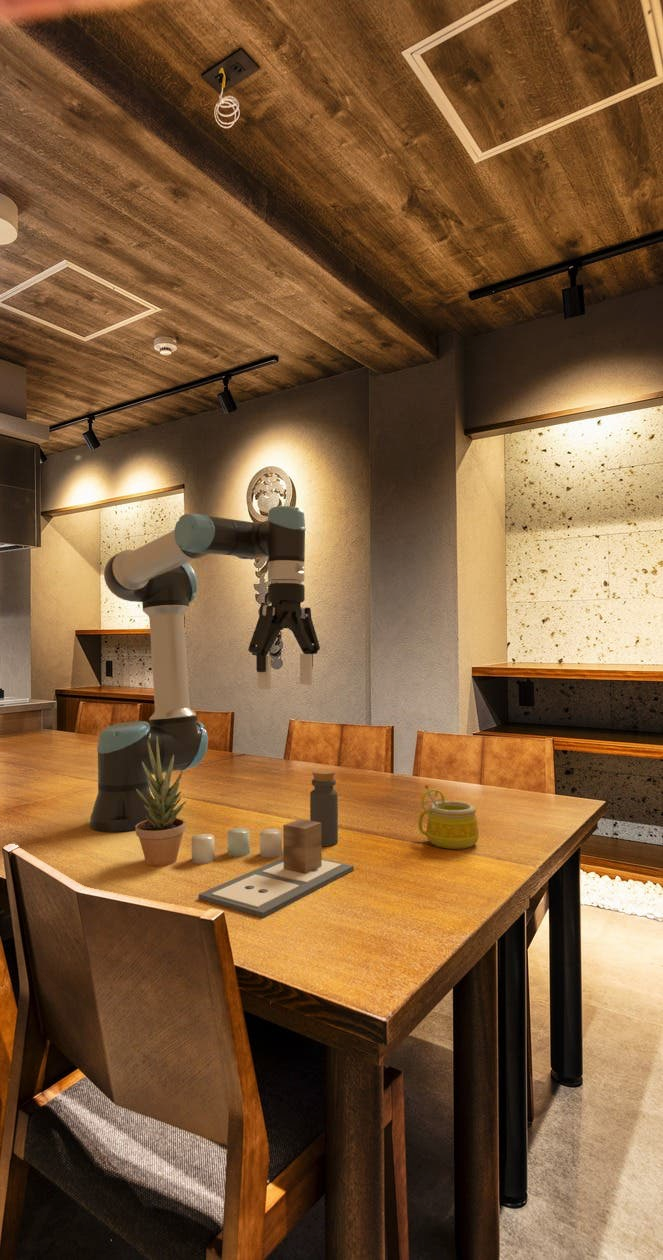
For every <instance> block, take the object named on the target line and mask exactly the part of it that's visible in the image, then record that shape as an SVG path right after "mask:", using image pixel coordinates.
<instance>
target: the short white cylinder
mask: <svg viewBox="0 0 663 1260" xmlns="http://www.w3.org/2000/svg"><path fill="white" fill-rule="evenodd" d="M259 852H260V853H259V854H260V857H262V858H265V859H266V858H267V859H268V858H269V859H272V858H273V859H274V858H279V857H281V856H282V855H283V831H282V830H281V829H278V828H267V829H263V830H260V832H259Z"/></svg>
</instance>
